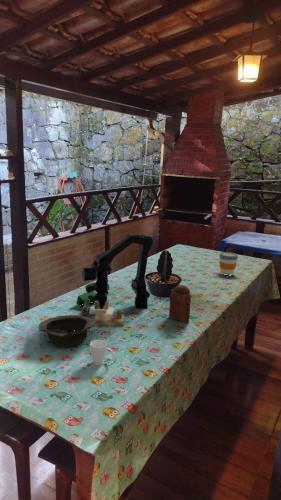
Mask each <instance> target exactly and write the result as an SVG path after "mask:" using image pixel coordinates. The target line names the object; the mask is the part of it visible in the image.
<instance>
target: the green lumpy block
mask: <svg viewBox="0 0 281 500" xmlns="http://www.w3.org/2000/svg"><path fill="white" fill-rule="evenodd" d="M96 293H97V292H95V291H92V292H90V293H87V292H85V293H82V294H80V295H78V296H77V299H76V304H77V305H78V306H79V305H81V306H83V305H82V304H85V301H86V299H87V300H90V303H91V302H93V303H95V300H94V296H95V294H96ZM93 303H92V304H93Z"/></svg>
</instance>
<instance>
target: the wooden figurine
mask: <svg viewBox="0 0 281 500" xmlns="http://www.w3.org/2000/svg"><path fill="white" fill-rule="evenodd" d="M190 293H191V291H190V289H189V287H188V286H186V285H184V284H180V285H177V286H175V287H174V288H172V289H171V291H170V295H169V307H168V308H169V313H168V317H169V318H170V319H172V320H174V321H179V322H183V323H189V322H190V316H191V315H190V314H191V302H192V301H191V300H192V296H191V294H190Z"/></svg>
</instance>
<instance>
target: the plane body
mask: <svg viewBox="0 0 281 500" xmlns="http://www.w3.org/2000/svg"><path fill="white" fill-rule="evenodd" d="M80 312H81V313H80V314H79V315H82V316H83V309H82V310H81V311H80ZM87 317H89V318H91V319H93V320H95V321H96V322H95V323H97V324H96V325H95V326H125V314H123V310H122V309H117V310H116V313H115V314H114V313H113V314H87Z"/></svg>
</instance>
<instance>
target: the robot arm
mask: <svg viewBox="0 0 281 500" xmlns="http://www.w3.org/2000/svg"><path fill="white" fill-rule="evenodd" d="M132 244H137V246H138V251H139V252H138V253H139V255H138V260H137V261H138V262H137V267H136V275H135V278H132V279H131V283H130V287H131V289H132V291H133V292H134V293H135V297H134V306H135V308H136V309H148V307H149V306H148V300H149V298H150V297H151V293H150V292H149V291H147V284H146V283H147V282H146V272H147V265H148V258H149V252H150V251H151V250H152V247H153V244H154V239H153V238H152V237H151V236H149V235H148V234H145V233H143V234H131V233H129V234H127V235H126V236H125V237H124V238H122V239H121V240H120V241H119V242H117V243H116V244H115V245H114V246H112V247H110V249H107V250H105V251H102V252H100V253H99V254H97V255H96V256H95V260H94V261H93V262H92V264H91V266H83V267H82V270H81V272H80V274H81V280H82V282H85V281H89V282H90V281H95V280H96V281H95V282H91V283H88V284H85V292H86V293H90V292H92V291H94V292H95V293H96V294H95V296H94V300H95V301H99V305H100V309H103V307H104V305H105V302H106V301H107V300H108V294H109V290H110V285H109V271H112V270H113V269H112V268H111V267H110V264H111V263H112V262H113V260H115V257H117V256H119V254H120V253H122V252H123V251H124V250H126V249H127V248H128V247H130V246H131V245H132Z"/></svg>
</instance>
